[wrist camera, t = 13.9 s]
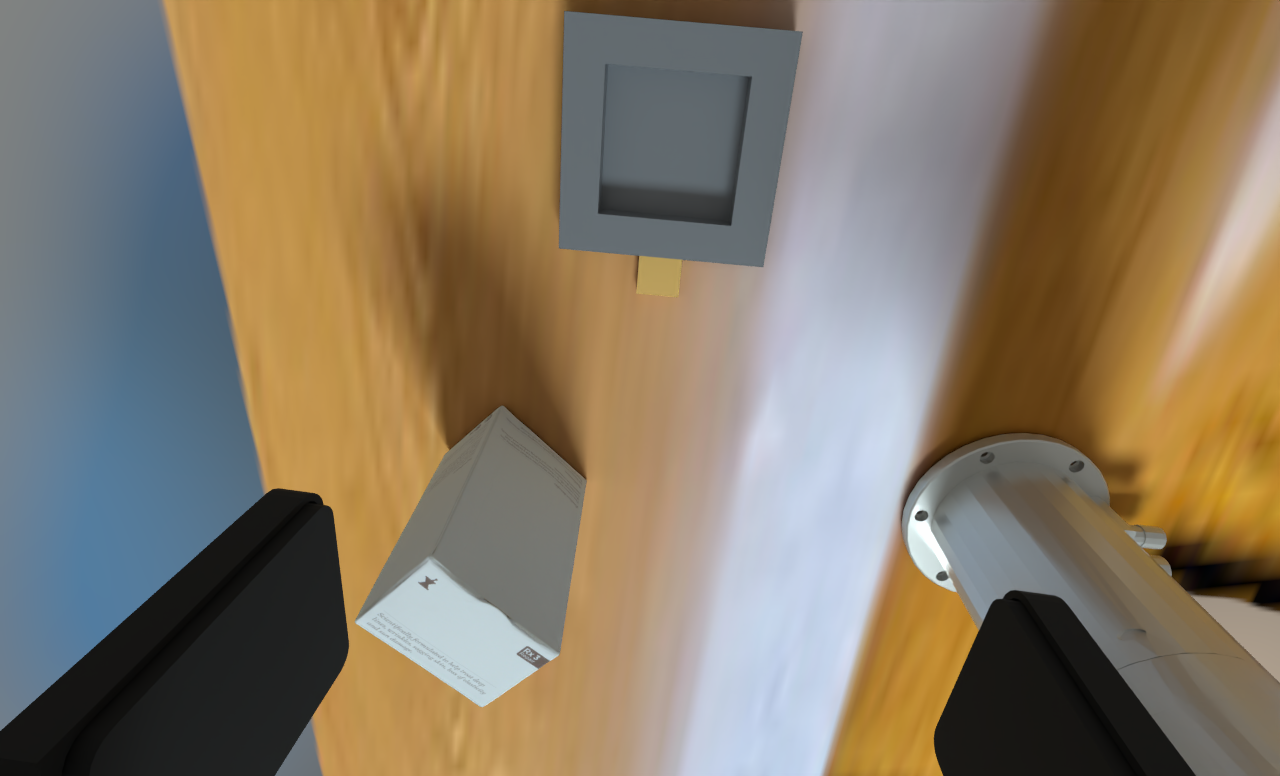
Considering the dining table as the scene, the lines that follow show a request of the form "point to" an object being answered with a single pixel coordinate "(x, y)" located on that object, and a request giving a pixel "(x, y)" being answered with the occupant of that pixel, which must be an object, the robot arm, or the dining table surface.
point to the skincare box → (483, 562)
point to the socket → (672, 140)
